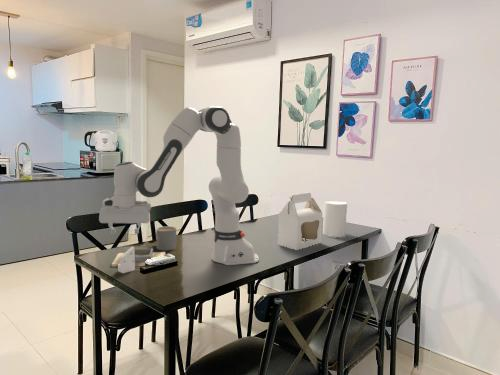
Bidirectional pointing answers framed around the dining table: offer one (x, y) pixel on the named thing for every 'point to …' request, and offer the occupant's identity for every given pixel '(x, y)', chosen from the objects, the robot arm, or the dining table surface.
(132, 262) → the white wedge bracket
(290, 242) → the gable box
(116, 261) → the mounting board
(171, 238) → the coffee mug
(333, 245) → the dining table surface
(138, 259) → the back box
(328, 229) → the canister
